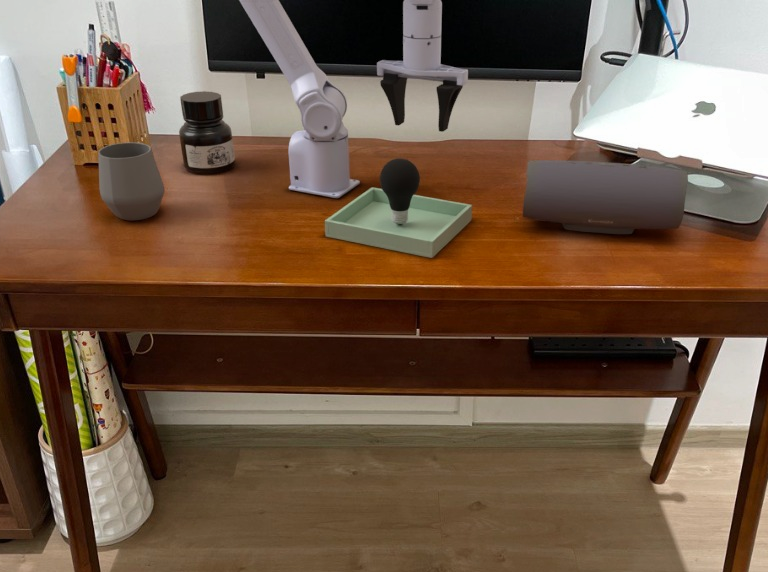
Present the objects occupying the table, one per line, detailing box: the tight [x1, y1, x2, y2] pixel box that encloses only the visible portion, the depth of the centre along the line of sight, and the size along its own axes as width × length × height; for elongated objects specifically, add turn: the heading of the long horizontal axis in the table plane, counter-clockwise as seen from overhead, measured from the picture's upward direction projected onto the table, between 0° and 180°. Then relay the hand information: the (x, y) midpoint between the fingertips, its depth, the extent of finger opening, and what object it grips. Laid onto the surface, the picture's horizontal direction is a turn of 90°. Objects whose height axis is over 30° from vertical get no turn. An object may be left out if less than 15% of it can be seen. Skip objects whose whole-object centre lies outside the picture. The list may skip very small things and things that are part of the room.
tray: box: [324, 187, 473, 259], centre depth 124 cm, size 17×15×2 cm
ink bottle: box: [178, 90, 236, 175], centre depth 143 cm, size 10×9×12 cm
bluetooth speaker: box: [522, 159, 689, 235], centre depth 123 cm, size 23×9×10 cm, turn 80°
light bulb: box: [379, 157, 421, 226], centre depth 122 cm, size 6×6×10 cm
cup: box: [97, 141, 165, 222], centre depth 125 cm, size 10×9×10 cm
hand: (421, 126), depth 132 cm, fingers open, 7 cm apart
